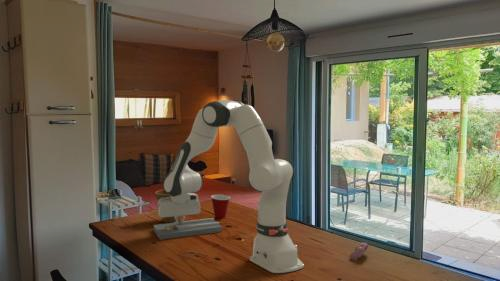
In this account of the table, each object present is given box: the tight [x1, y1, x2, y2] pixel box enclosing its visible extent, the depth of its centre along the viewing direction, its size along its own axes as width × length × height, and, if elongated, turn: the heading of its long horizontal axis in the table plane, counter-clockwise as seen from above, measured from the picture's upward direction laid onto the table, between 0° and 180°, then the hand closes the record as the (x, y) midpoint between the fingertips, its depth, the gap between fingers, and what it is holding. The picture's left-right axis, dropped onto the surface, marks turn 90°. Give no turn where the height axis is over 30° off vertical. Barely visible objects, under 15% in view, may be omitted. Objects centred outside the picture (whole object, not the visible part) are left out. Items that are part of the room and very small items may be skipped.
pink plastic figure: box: [348, 242, 369, 260], centre depth 151 cm, size 10×5×7 cm, turn 150°
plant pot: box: [155, 189, 180, 224], centre depth 201 cm, size 15×15×16 cm
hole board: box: [153, 217, 223, 241], centre depth 184 cm, size 16×30×4 cm, turn 114°
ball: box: [166, 225, 175, 230], centre depth 181 cm, size 4×4×4 cm
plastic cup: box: [210, 194, 231, 220], centre depth 208 cm, size 11×11×12 cm
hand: (179, 224), depth 182 cm, fingers closed
